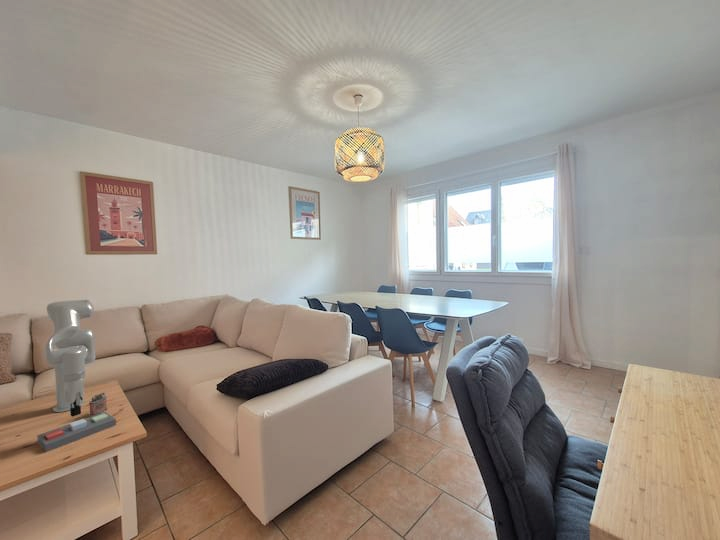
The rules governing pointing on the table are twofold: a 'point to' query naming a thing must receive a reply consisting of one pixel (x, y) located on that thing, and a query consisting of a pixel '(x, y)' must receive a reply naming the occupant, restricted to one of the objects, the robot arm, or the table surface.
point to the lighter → (98, 404)
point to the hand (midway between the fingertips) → (75, 414)
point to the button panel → (75, 433)
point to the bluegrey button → (77, 424)
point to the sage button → (99, 418)
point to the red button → (54, 434)
